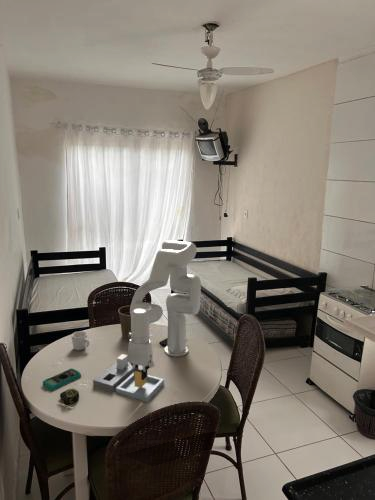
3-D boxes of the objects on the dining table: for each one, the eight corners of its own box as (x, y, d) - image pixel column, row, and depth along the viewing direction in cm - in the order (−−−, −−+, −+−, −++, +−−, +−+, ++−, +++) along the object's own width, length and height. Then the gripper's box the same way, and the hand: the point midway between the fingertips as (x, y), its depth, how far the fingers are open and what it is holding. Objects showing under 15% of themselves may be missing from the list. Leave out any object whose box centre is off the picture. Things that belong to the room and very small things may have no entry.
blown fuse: (140, 381, 162) (140, 364, 160) (146, 382, 160) (146, 365, 159) (134, 386, 158) (134, 369, 156) (140, 388, 156) (140, 370, 155)
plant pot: (147, 330, 219) (147, 304, 215) (146, 342, 203) (146, 315, 200) (120, 330, 218) (119, 304, 214) (116, 343, 202) (116, 315, 199)
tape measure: (59, 399, 151) (59, 391, 150) (76, 394, 155) (75, 386, 154) (64, 408, 146) (64, 399, 145) (81, 402, 149) (81, 394, 149)
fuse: (122, 369, 174) (122, 353, 172) (127, 370, 173) (127, 355, 171) (117, 374, 170) (116, 358, 168) (122, 375, 169) (122, 359, 167)
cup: (94, 348, 195) (94, 334, 193) (82, 354, 188) (82, 340, 186) (80, 343, 200) (79, 329, 199) (68, 349, 194) (68, 335, 192)
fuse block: (119, 366, 178) (119, 359, 177) (137, 370, 174) (137, 364, 173) (93, 387, 160) (93, 379, 159) (112, 393, 156) (112, 385, 155)
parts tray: (135, 376, 169) (134, 371, 169) (163, 384, 163) (163, 379, 163) (116, 393, 156) (115, 388, 155) (146, 402, 150) (146, 397, 149)
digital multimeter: (82, 378, 167) (82, 372, 167) (51, 393, 156) (51, 386, 155) (73, 372, 172) (72, 366, 172) (42, 386, 160) (41, 380, 160)
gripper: (118, 337, 155) (119, 377, 158) (152, 345, 148) (152, 386, 152) (128, 330, 161) (129, 368, 165) (161, 338, 155) (161, 377, 159)
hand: (140, 377), depth 158 cm, fingers closed on blown fuse, 3 cm apart
